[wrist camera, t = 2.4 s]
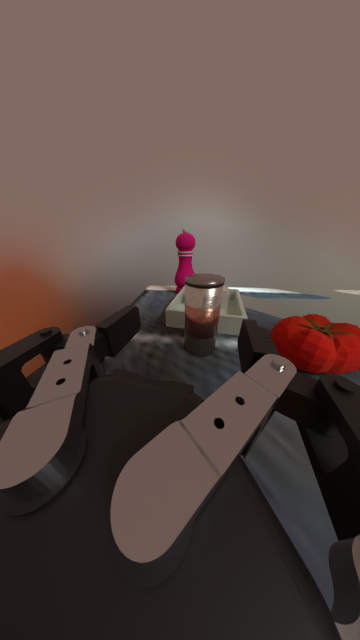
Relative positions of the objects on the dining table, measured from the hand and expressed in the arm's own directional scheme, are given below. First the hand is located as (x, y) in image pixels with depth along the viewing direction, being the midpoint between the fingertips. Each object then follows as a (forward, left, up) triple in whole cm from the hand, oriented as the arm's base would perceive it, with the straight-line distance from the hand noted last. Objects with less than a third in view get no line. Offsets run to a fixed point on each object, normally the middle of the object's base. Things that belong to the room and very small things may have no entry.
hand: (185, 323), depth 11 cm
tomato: (-17, -12, -11) cm, 24 cm away
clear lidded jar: (0, -11, -11) cm, 16 cm away
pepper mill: (+9, -40, -11) cm, 43 cm away
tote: (0, -25, -11) cm, 28 cm away
